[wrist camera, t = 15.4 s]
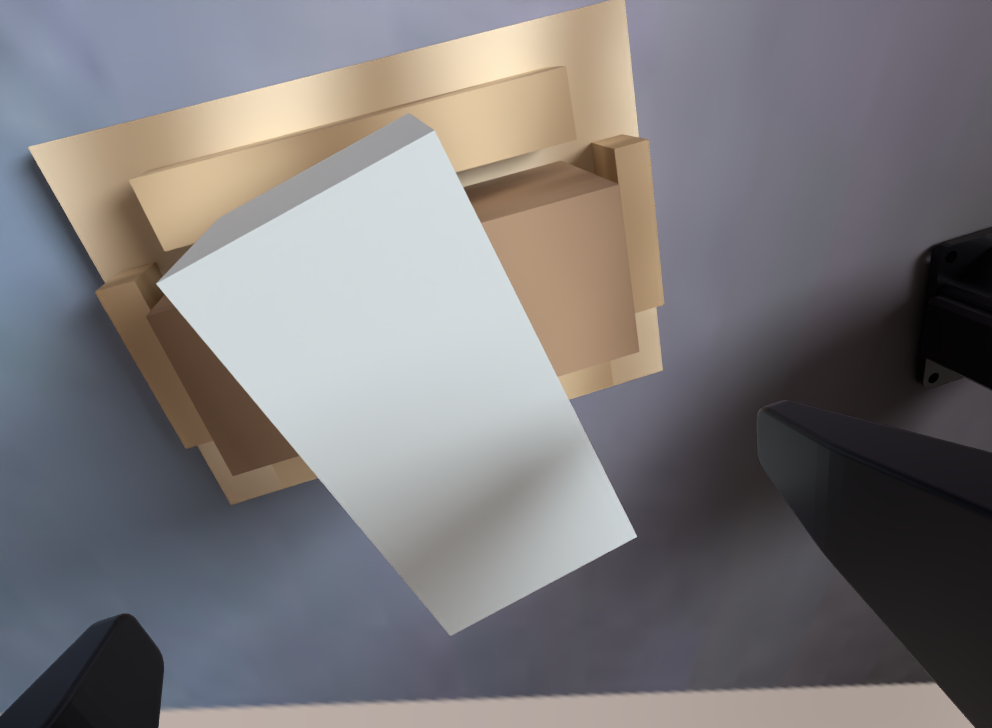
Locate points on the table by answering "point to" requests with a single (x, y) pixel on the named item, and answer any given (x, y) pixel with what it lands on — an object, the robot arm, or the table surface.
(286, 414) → the light grey rectangular block
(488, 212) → the tan rectangular bar
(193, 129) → the jig
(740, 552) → the table surface
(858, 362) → the table surface
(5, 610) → the table surface
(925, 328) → the robot arm
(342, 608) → the table surface
